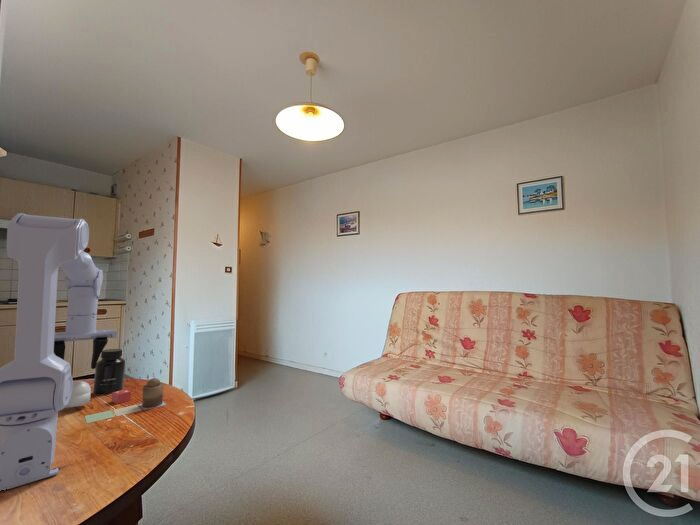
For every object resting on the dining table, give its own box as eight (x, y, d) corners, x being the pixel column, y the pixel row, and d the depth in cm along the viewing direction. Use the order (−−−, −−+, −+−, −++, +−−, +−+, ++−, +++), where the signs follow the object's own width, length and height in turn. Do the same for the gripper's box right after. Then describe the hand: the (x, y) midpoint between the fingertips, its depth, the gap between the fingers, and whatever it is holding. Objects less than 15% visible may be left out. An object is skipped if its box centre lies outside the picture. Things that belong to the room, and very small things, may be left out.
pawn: (164, 404, 79) (166, 378, 80) (144, 409, 76) (146, 382, 77) (159, 399, 83) (161, 374, 83) (140, 404, 79) (141, 378, 80)
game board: (170, 410, 77) (170, 407, 77) (86, 431, 66) (87, 428, 66) (158, 398, 85) (158, 396, 85) (81, 415, 74) (81, 412, 74)
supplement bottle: (103, 398, 85) (107, 353, 85) (87, 395, 87) (90, 351, 88) (129, 390, 91) (131, 348, 92) (112, 387, 93) (115, 346, 94)
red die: (130, 403, 82) (130, 391, 82) (117, 406, 79) (117, 394, 79) (124, 400, 83) (125, 388, 83) (111, 404, 81) (112, 392, 81)
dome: (91, 405, 76) (93, 381, 76) (60, 411, 72) (62, 386, 72) (88, 398, 80) (90, 376, 80) (58, 404, 76) (60, 381, 76)
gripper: (115, 311, 85) (111, 362, 85) (41, 314, 75) (36, 372, 74) (120, 314, 81) (116, 367, 80) (41, 317, 70) (36, 378, 69)
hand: (77, 370), depth 77 cm, fingers open, 5 cm apart
